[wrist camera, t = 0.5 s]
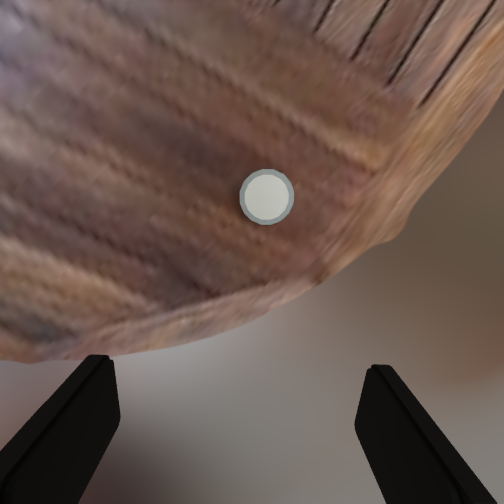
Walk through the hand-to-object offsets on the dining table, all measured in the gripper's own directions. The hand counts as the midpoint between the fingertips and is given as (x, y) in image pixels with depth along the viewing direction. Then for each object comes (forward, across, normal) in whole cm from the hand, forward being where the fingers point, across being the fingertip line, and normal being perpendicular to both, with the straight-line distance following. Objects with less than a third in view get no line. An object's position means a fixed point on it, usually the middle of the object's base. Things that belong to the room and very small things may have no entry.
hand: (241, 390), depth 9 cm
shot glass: (+31, -2, -6) cm, 31 cm away
